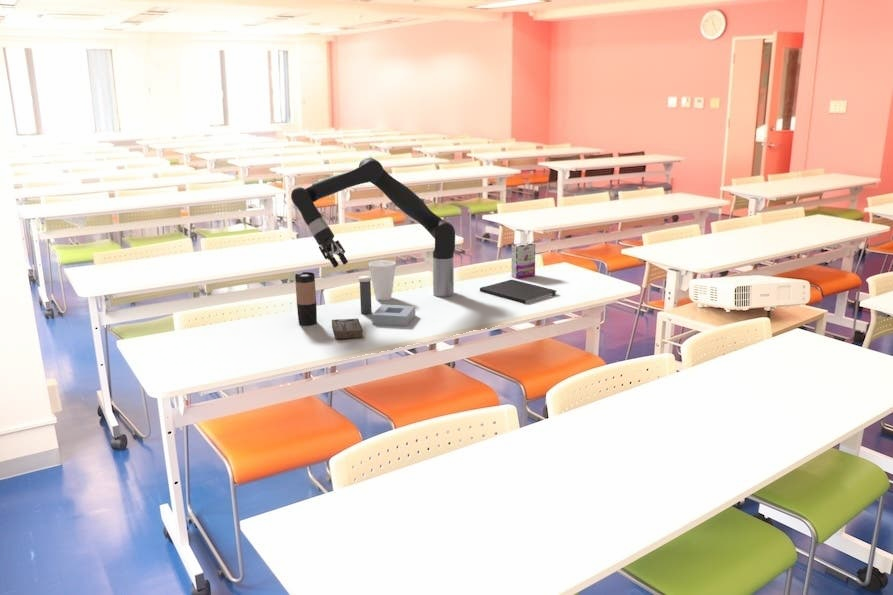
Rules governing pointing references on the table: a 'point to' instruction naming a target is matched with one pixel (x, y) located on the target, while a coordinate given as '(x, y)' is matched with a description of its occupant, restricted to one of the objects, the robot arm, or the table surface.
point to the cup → (382, 278)
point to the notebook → (518, 291)
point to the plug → (365, 294)
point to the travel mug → (306, 298)
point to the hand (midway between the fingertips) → (341, 264)
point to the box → (347, 328)
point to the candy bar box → (523, 260)
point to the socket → (393, 315)
